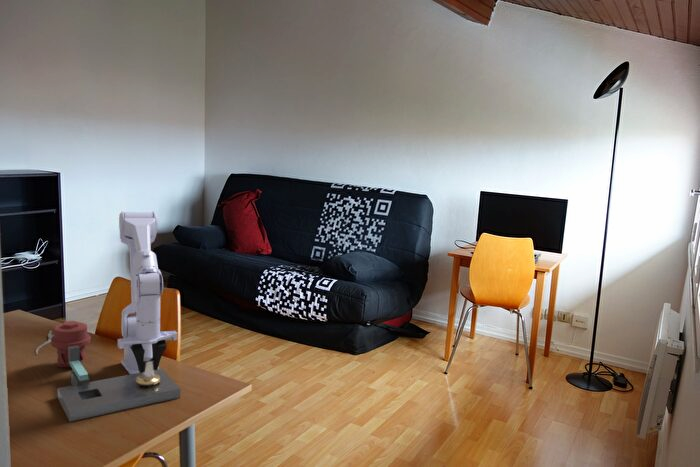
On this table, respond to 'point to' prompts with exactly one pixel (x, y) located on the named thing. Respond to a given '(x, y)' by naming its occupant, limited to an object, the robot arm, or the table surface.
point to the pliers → (45, 342)
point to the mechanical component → (70, 340)
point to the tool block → (113, 395)
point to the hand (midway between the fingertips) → (148, 370)
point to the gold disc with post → (148, 374)
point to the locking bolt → (76, 362)
